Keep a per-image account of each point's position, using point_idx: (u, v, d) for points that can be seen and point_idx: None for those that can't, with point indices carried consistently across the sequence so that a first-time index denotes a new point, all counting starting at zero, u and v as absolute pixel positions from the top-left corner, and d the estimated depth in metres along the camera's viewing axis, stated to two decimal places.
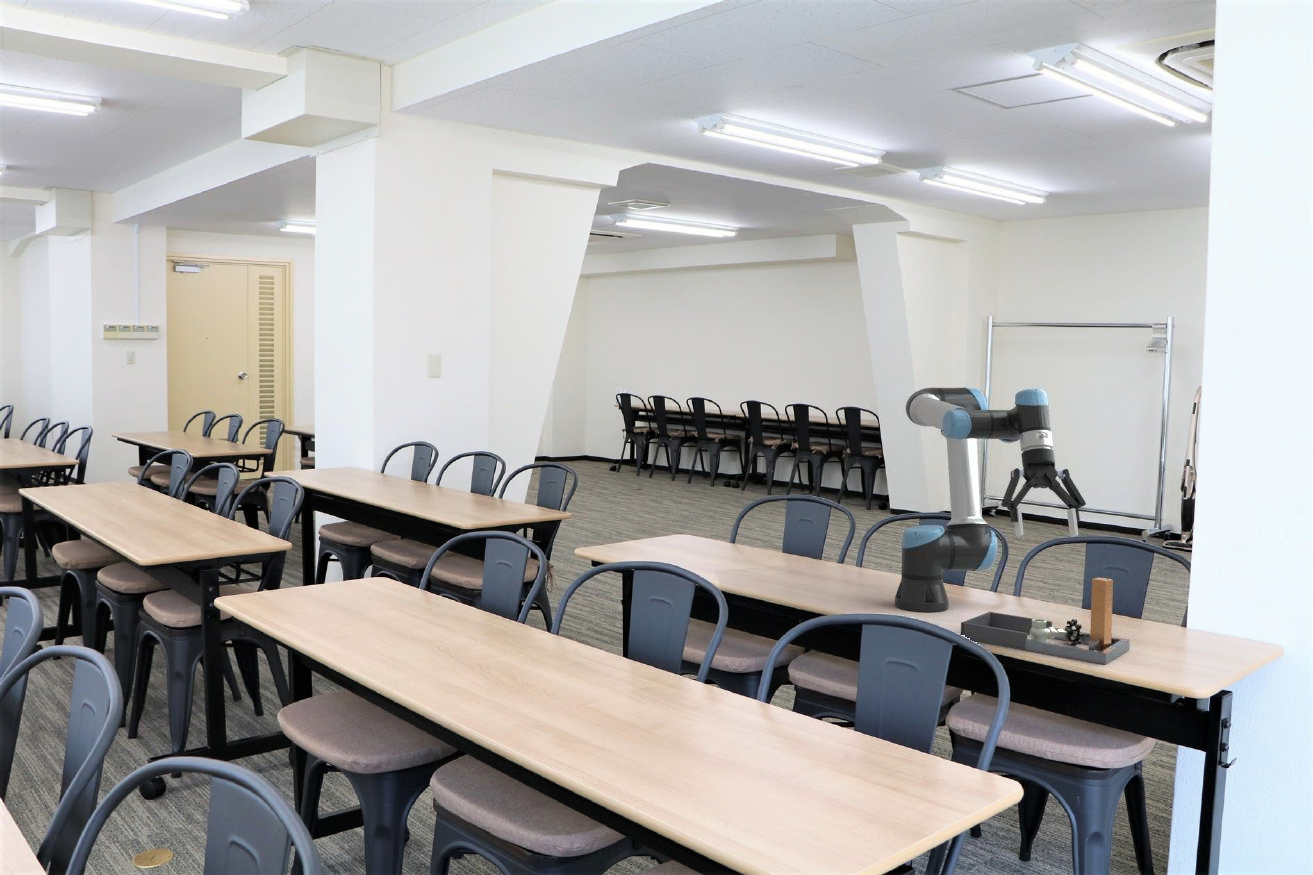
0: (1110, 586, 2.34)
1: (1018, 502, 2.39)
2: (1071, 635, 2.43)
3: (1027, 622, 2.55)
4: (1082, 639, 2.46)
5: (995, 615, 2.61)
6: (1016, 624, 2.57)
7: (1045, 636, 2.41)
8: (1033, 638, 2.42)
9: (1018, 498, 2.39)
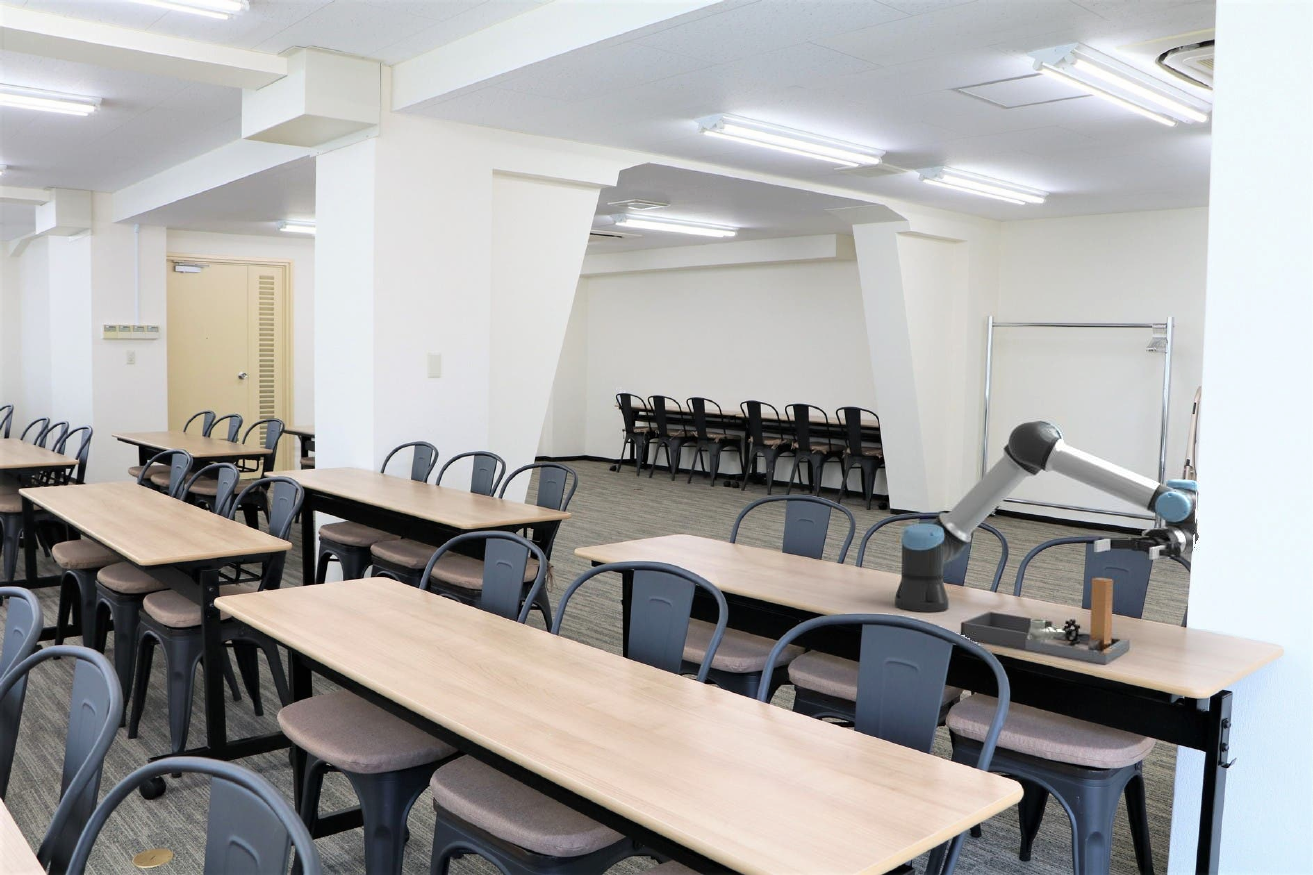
0: (1110, 586, 2.34)
1: None
2: (1070, 635, 2.43)
3: (1027, 622, 2.55)
4: (1082, 639, 2.46)
5: (995, 615, 2.61)
6: (1016, 624, 2.57)
7: (1043, 636, 2.41)
8: (1032, 638, 2.42)
9: None
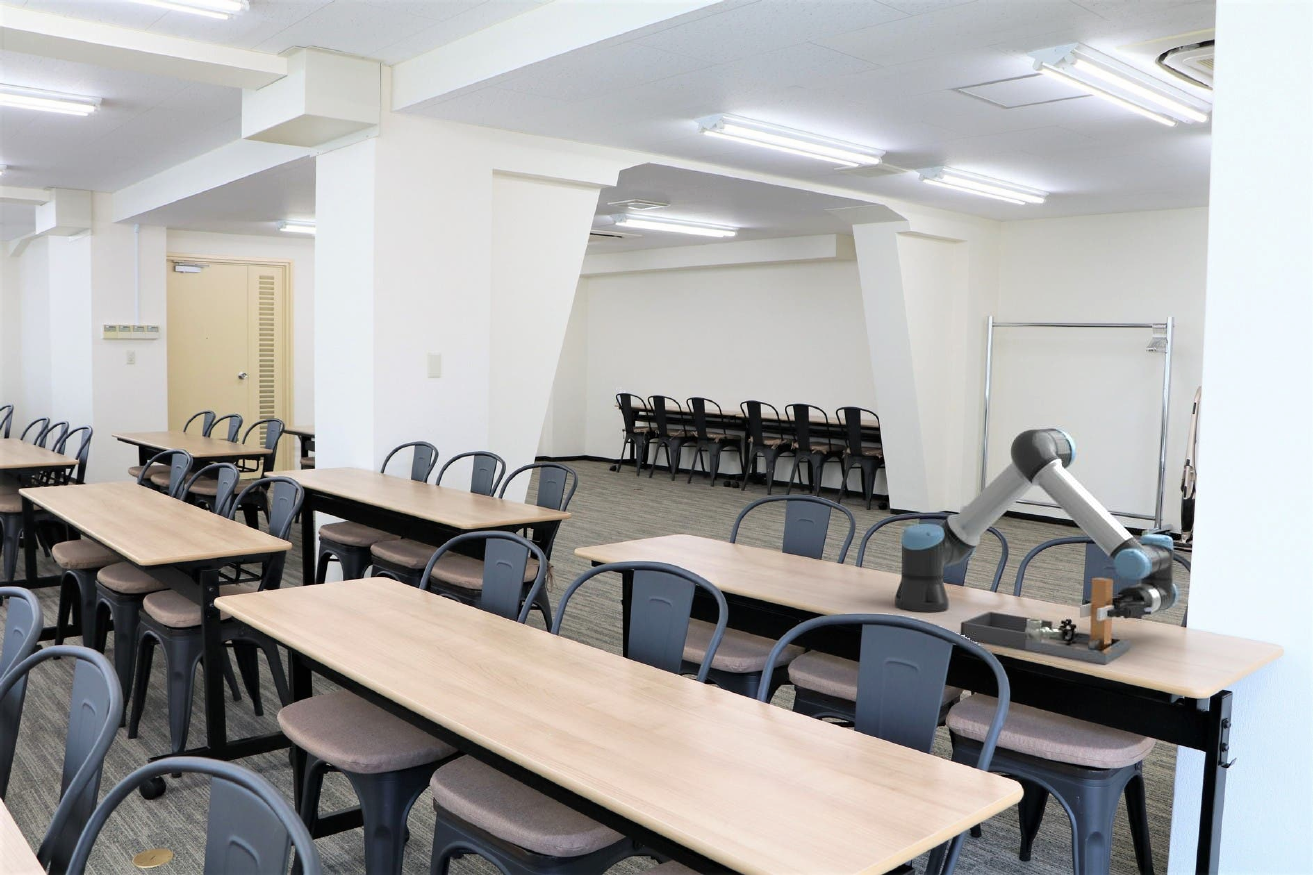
0: (1110, 586, 2.34)
1: None
2: (1066, 635, 2.43)
3: None
4: (1082, 639, 2.46)
5: (995, 615, 2.61)
6: (1016, 624, 2.57)
7: (1040, 636, 2.41)
8: (1028, 638, 2.42)
9: None
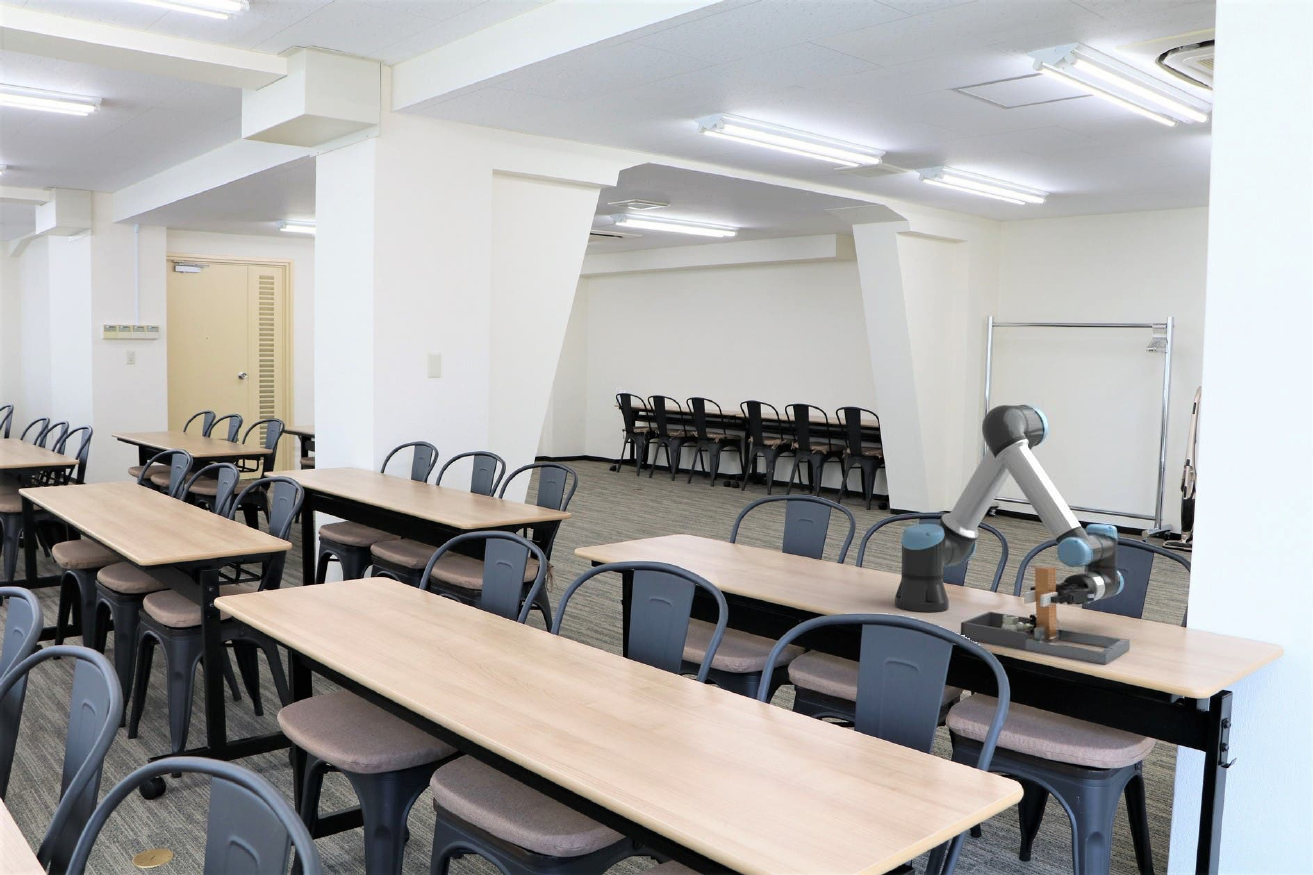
0: (1052, 573, 2.43)
1: None
2: None
3: None
4: (1082, 639, 2.46)
5: (995, 615, 2.61)
6: None
7: None
8: None
9: None
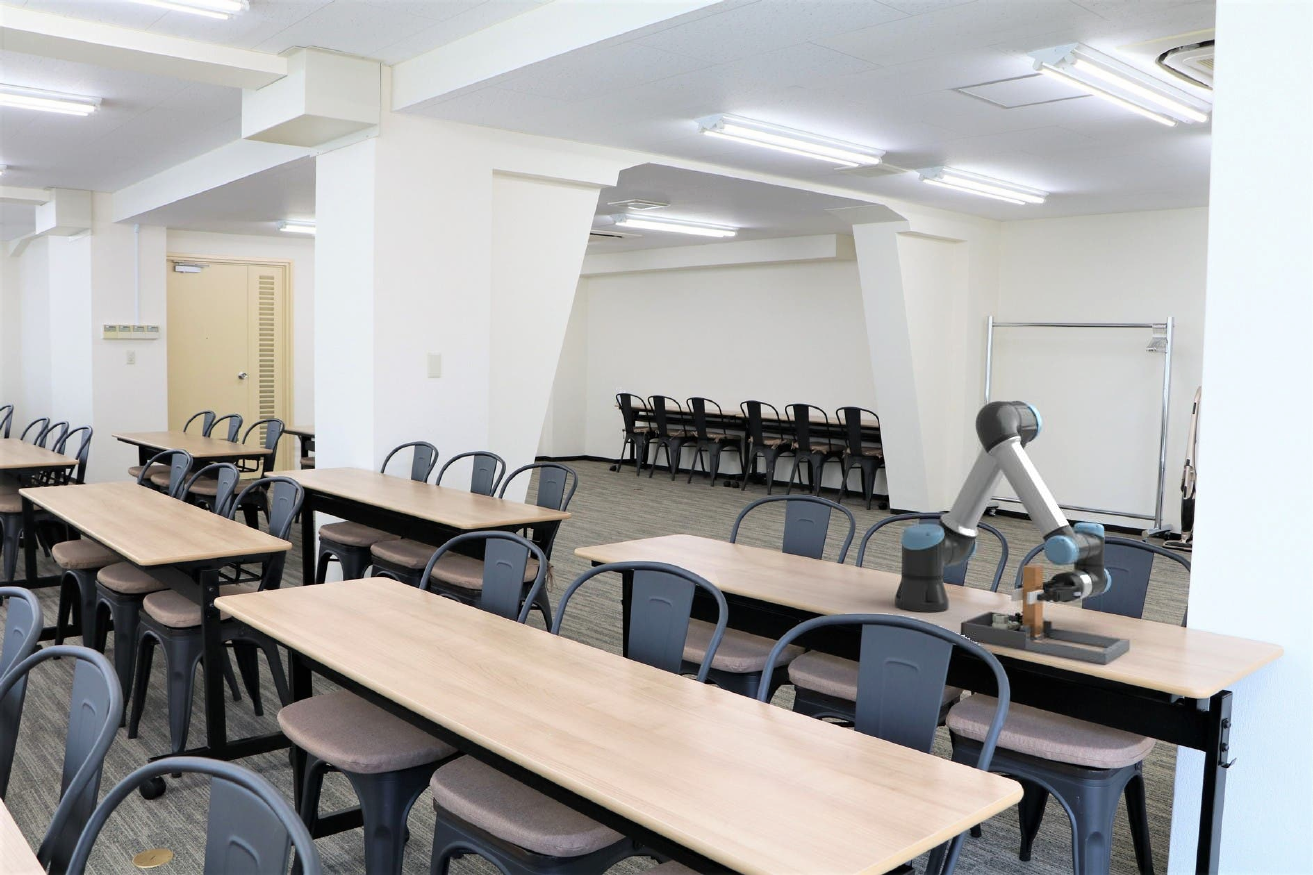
0: (1039, 572, 2.45)
1: None
2: None
3: None
4: (1082, 639, 2.46)
5: None
6: None
7: None
8: None
9: None
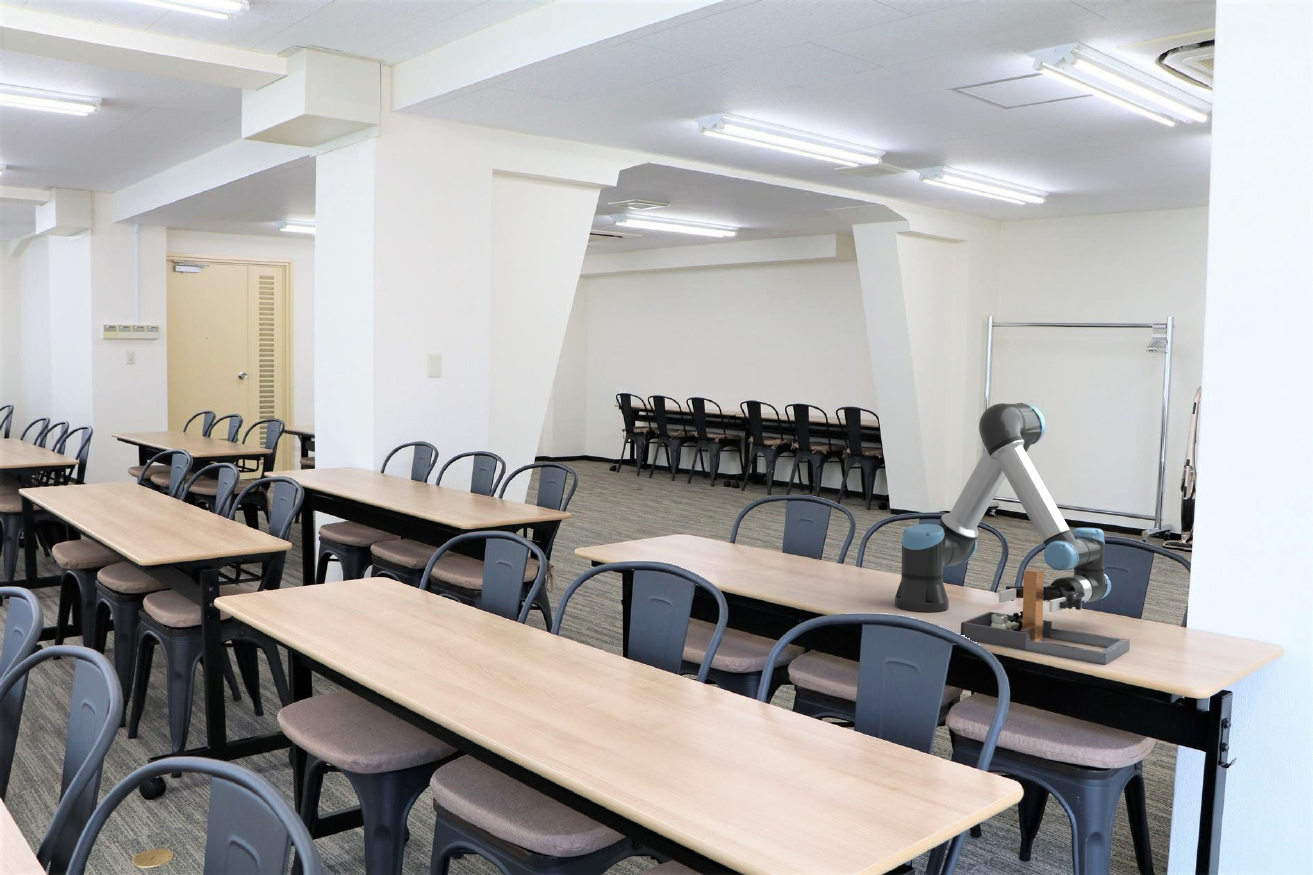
0: (1040, 577, 2.45)
1: None
2: None
3: None
4: (1082, 639, 2.46)
5: None
6: None
7: None
8: None
9: None
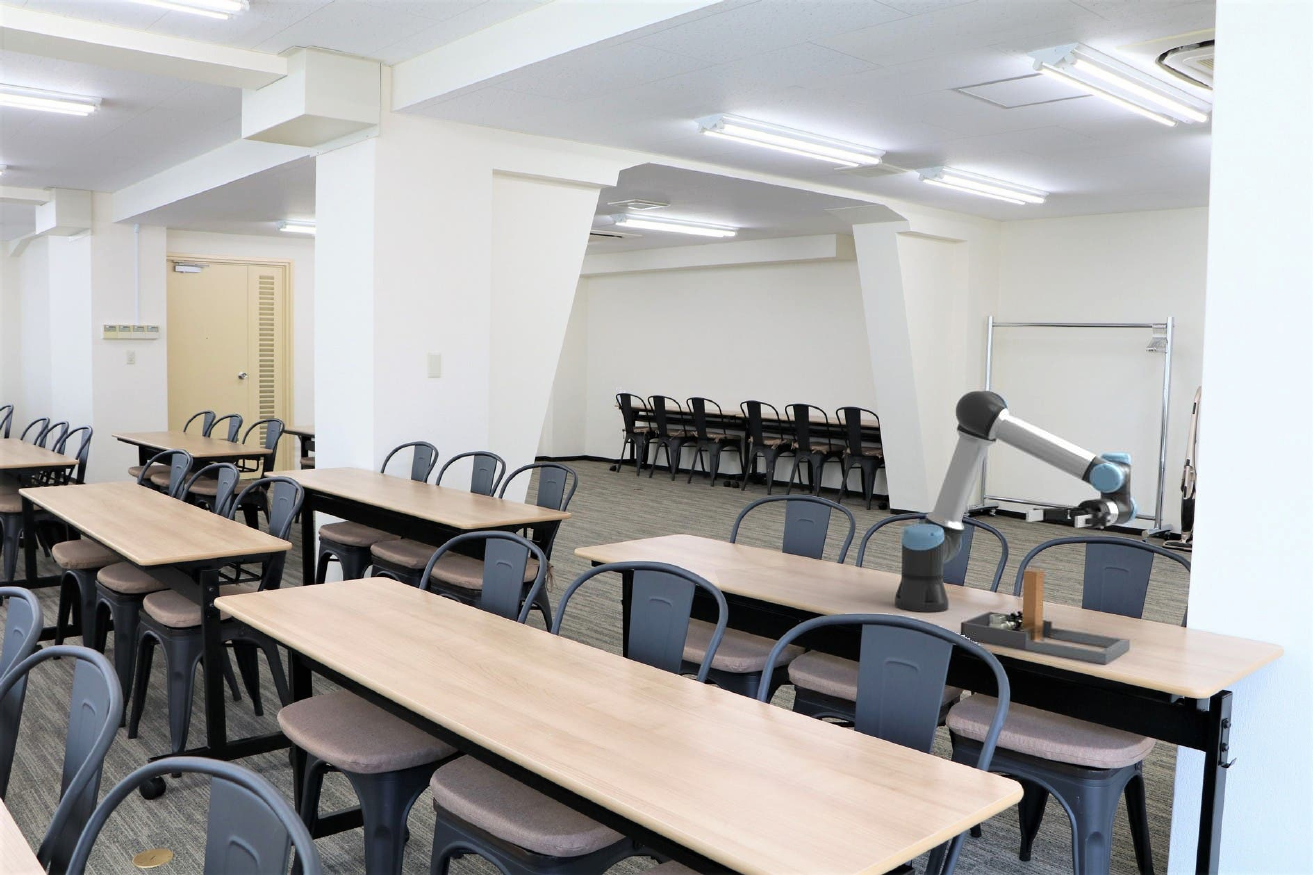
0: (1040, 577, 2.45)
1: (1093, 524, 2.51)
2: (1019, 627, 2.51)
3: None
4: (1082, 639, 2.46)
5: None
6: None
7: None
8: None
9: None
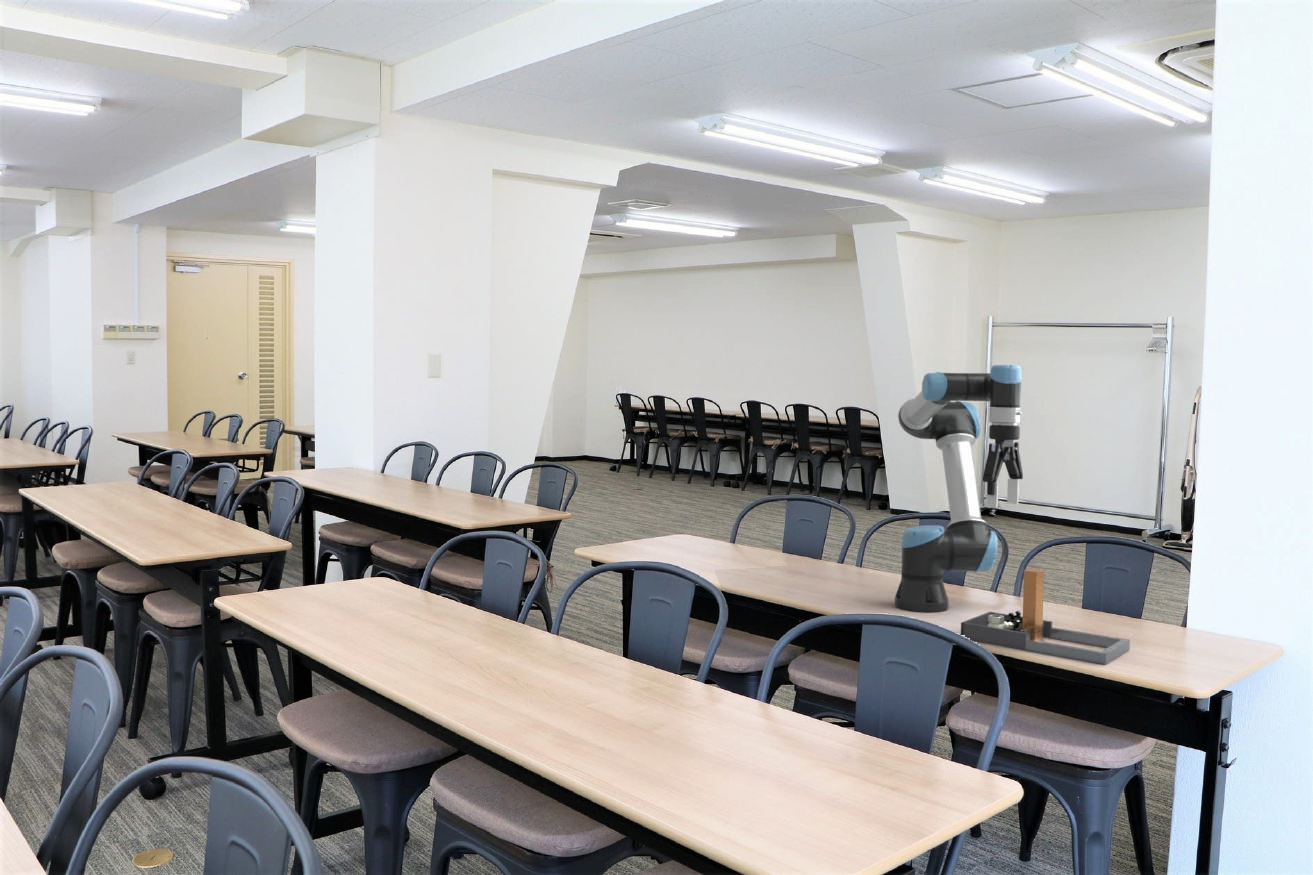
0: (1040, 577, 2.45)
1: (997, 477, 2.52)
2: (1017, 627, 2.51)
3: None
4: (1082, 639, 2.46)
5: None
6: None
7: None
8: None
9: (997, 473, 2.52)
